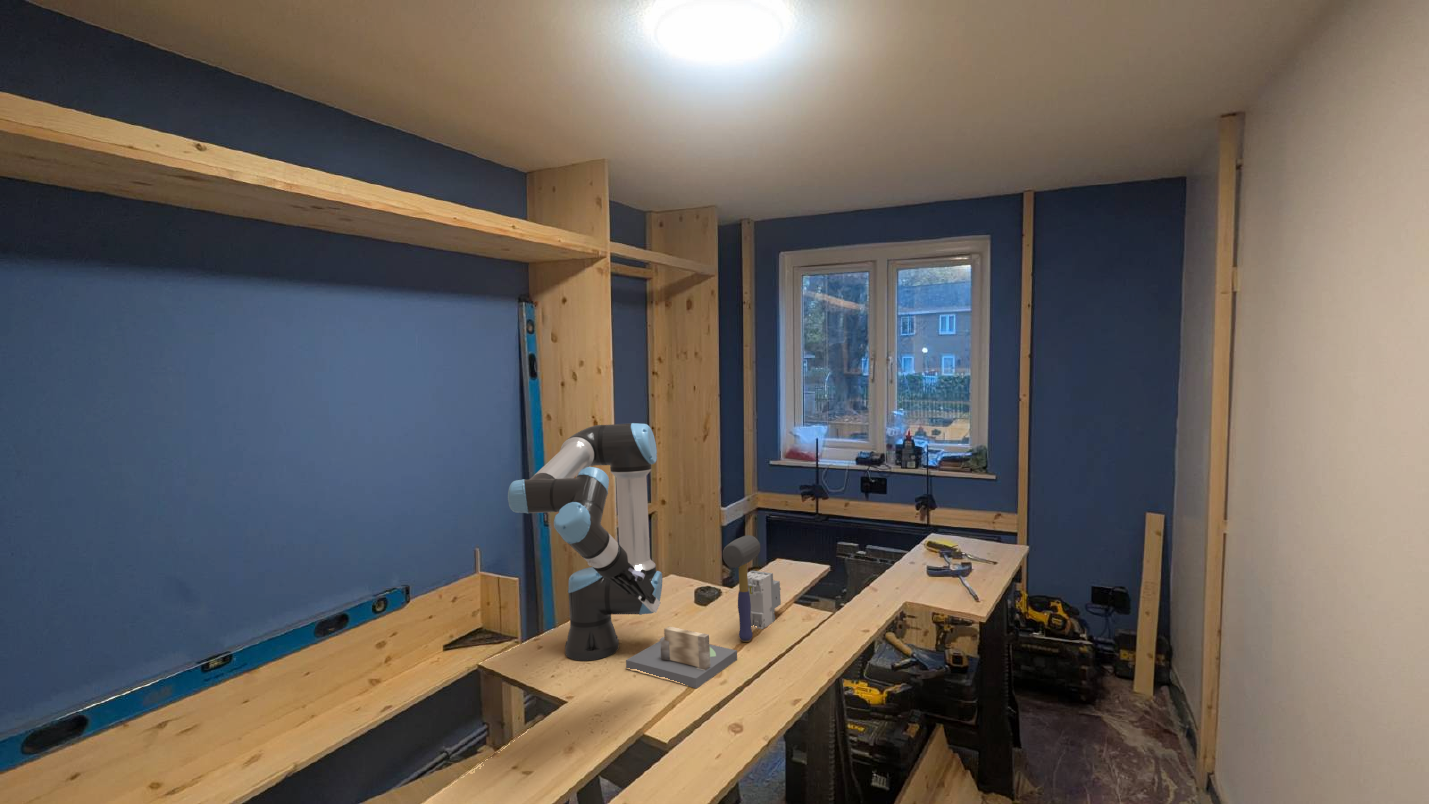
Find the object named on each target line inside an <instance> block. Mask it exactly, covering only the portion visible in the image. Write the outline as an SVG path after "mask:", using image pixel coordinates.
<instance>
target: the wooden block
mask: <svg viewBox="0 0 1429 804" xmlns="http://www.w3.org/2000/svg"><path fill="white" fill-rule="evenodd" d="M663 634H664V636H662V637H660V638H659V641H660V646H661V659H662V660H672V661H676V662H680V663H684V664H688V665H692V666H696V667H699V668H703V669H707V668H708V667H710V645H709V644H710V634H709V633H708V634H707V633H703V632H702V633H701V632H697V631H692V630H688V629H683V628H678V627H674V626H667V627H665V628H664V629H663Z"/></svg>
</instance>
